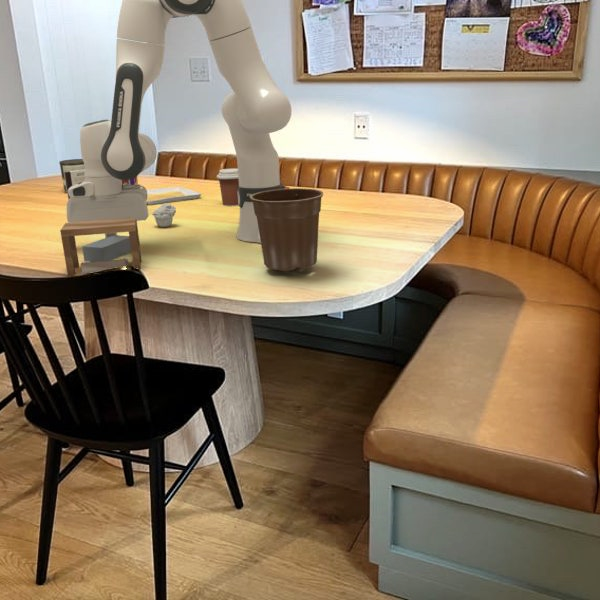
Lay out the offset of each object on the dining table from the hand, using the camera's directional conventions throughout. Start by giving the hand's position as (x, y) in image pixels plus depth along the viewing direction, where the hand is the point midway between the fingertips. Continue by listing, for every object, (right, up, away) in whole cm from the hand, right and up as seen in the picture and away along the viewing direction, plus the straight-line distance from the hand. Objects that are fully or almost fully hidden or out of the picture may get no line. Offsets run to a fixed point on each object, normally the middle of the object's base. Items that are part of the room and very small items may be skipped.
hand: (111, 239), depth 166 cm
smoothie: (-6, +11, +38) cm, 40 cm away
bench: (+4, -8, -18) cm, 20 cm away
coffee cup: (+26, +16, +50) cm, 59 cm away
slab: (+2, -5, -7) cm, 9 cm away
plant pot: (+47, -8, -20) cm, 52 cm away
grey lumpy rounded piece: (+10, +5, +22) cm, 24 cm away
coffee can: (-35, +23, +76) cm, 87 cm away
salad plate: (0, +19, +63) cm, 66 cm away
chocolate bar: (-12, +3, +18) cm, 21 cm away
